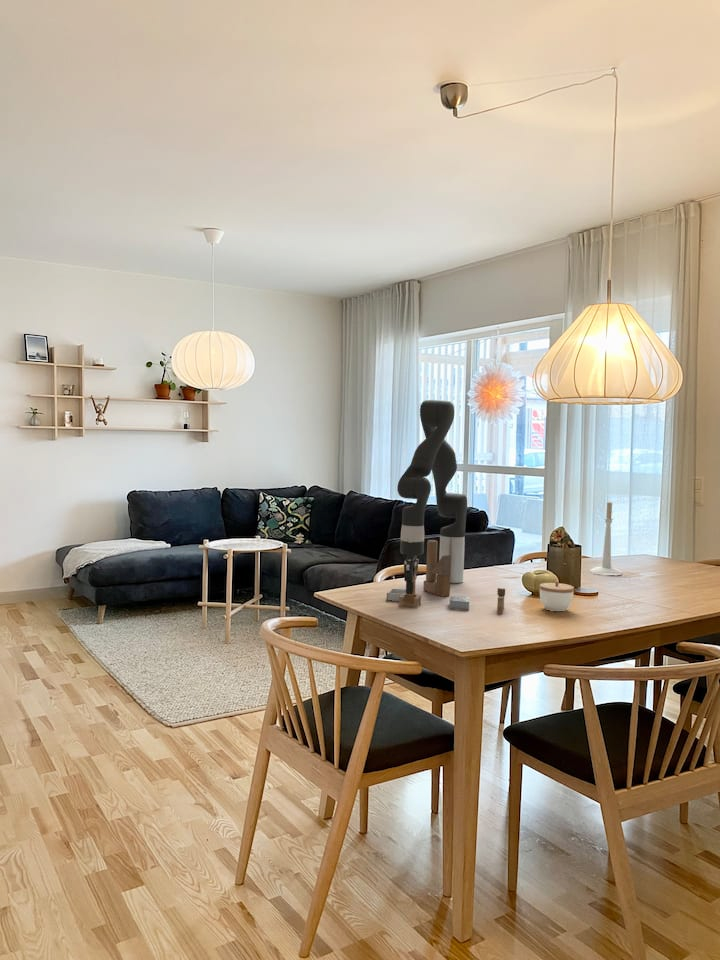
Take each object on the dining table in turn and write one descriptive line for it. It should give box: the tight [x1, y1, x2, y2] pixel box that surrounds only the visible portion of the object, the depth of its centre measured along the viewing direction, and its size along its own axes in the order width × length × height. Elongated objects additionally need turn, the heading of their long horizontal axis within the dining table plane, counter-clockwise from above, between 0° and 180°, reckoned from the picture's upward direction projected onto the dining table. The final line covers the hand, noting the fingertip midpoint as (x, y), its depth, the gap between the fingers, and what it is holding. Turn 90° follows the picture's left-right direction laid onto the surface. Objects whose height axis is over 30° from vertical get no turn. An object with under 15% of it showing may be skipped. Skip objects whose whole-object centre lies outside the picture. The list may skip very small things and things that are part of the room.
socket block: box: [398, 593, 422, 608], centre depth 240 cm, size 6×6×3 cm
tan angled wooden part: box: [422, 539, 451, 597], centre depth 259 cm, size 4×11×18 cm, turn 31°
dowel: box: [406, 574, 417, 597], centre depth 240 cm, size 3×3×10 cm
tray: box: [385, 588, 406, 602], centre depth 249 cm, size 8×7×2 cm
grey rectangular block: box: [449, 595, 470, 611], centre depth 239 cm, size 7×6×3 cm
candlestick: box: [589, 501, 622, 573], centre depth 309 cm, size 13×13×30 cm
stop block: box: [496, 587, 506, 615], centre depth 236 cm, size 9×2×7 cm, turn 166°
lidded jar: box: [539, 580, 575, 612], centre depth 240 cm, size 11×11×9 cm
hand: (410, 592), depth 240 cm, fingers open, 3 cm apart
